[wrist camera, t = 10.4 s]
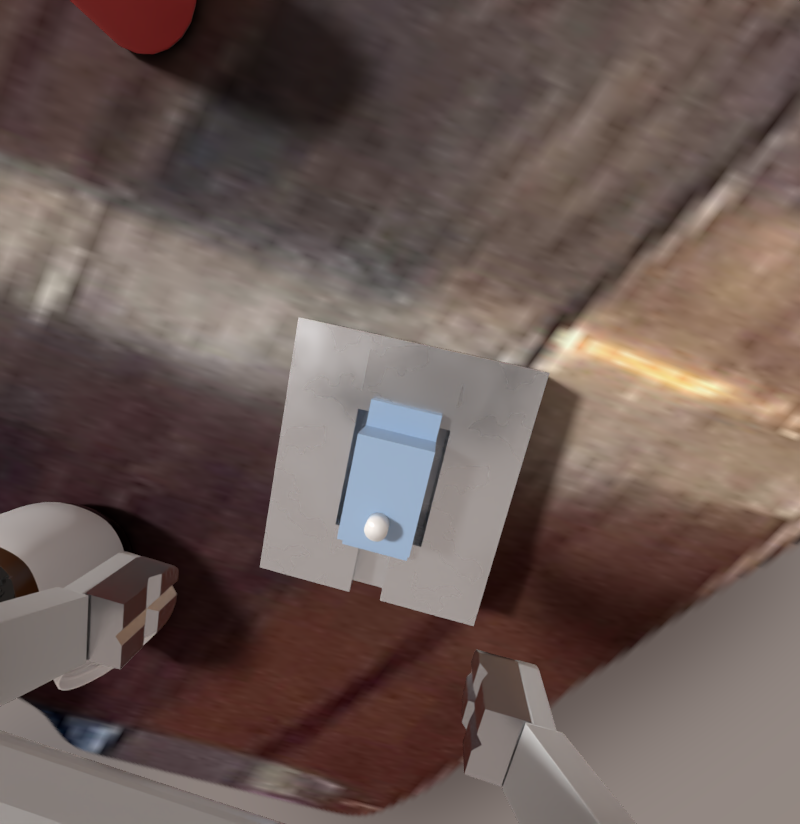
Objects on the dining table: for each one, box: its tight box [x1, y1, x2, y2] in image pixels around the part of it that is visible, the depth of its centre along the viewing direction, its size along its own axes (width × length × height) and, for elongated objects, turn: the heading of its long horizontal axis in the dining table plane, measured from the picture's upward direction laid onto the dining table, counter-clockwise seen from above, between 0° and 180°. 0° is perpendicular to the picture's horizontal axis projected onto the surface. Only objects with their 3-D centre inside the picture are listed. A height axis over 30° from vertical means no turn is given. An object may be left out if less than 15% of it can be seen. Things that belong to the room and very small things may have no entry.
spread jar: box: [0, 502, 156, 691], centre depth 23 cm, size 12×11×12 cm
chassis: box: [260, 317, 549, 626], centre depth 23 cm, size 14×16×3 cm
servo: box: [337, 398, 442, 561], centre depth 21 cm, size 4×9×6 cm, turn 168°
